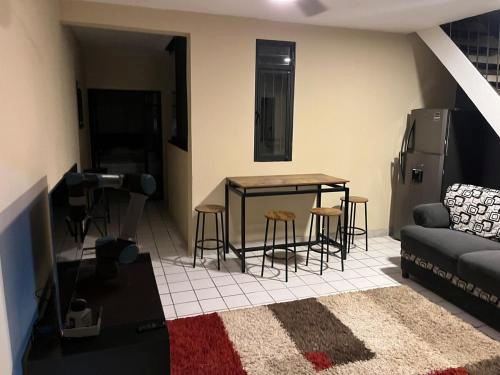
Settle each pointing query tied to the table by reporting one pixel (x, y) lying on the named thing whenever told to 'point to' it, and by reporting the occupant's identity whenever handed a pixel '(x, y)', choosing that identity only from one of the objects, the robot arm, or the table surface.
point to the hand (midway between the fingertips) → (79, 248)
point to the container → (79, 314)
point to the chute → (84, 329)
